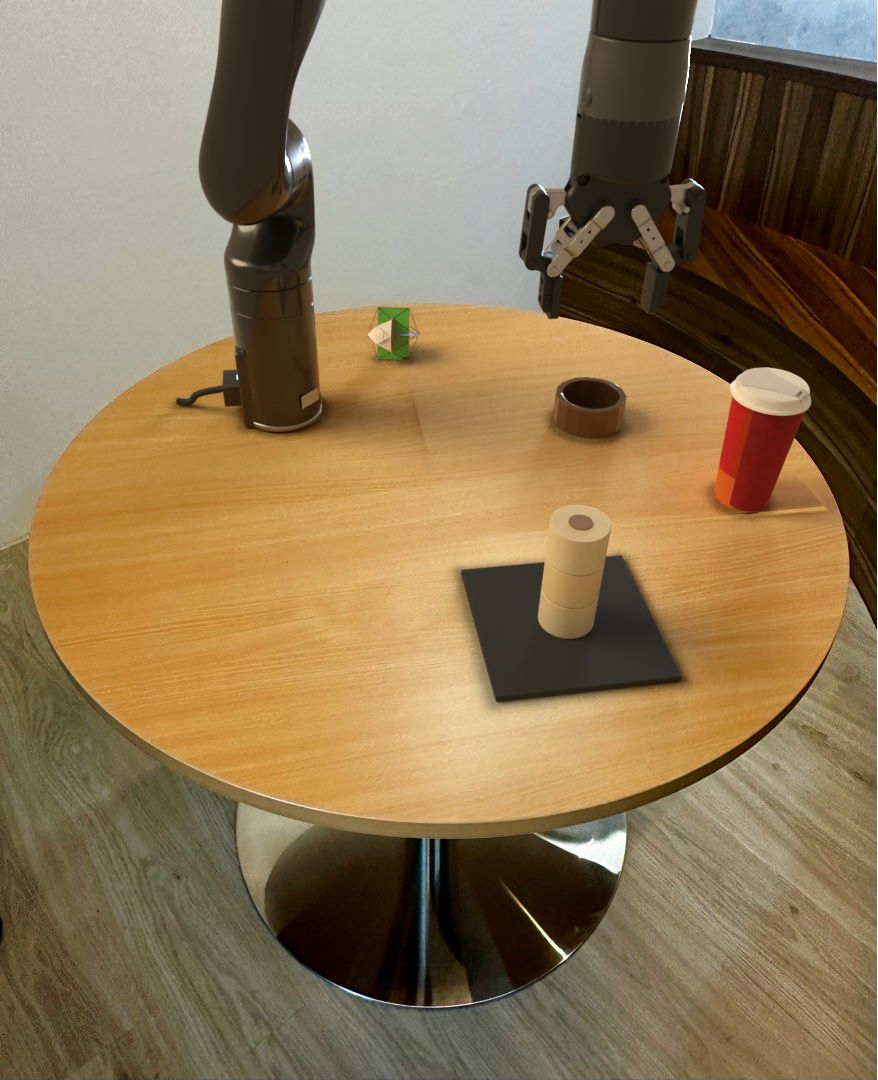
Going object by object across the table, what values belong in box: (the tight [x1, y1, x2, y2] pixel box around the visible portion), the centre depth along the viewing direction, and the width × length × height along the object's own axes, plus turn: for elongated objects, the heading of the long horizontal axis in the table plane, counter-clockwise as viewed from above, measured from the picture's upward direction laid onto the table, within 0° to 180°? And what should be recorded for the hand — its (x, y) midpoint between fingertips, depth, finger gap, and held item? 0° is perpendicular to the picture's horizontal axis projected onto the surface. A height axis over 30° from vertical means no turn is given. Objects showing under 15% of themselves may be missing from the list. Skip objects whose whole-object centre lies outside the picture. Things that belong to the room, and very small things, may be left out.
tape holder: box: [552, 376, 628, 439], centre depth 105 cm, size 8×8×4 cm
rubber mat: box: [460, 554, 683, 702], centre depth 79 cm, size 16×16×1 cm
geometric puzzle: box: [365, 306, 421, 361], centre depth 117 cm, size 7×7×8 cm
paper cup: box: [714, 366, 812, 515], centre depth 91 cm, size 8×8×14 cm
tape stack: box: [538, 504, 612, 639], centre depth 76 cm, size 5×5×11 cm
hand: (599, 312), depth 74 cm, fingers open, 8 cm apart
